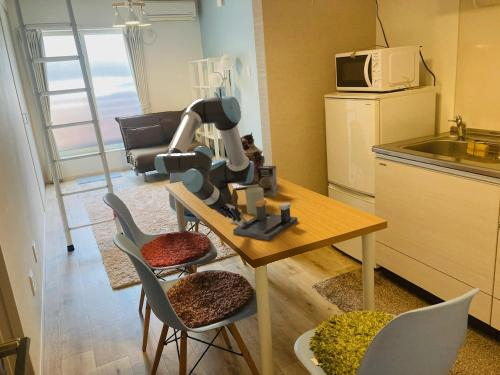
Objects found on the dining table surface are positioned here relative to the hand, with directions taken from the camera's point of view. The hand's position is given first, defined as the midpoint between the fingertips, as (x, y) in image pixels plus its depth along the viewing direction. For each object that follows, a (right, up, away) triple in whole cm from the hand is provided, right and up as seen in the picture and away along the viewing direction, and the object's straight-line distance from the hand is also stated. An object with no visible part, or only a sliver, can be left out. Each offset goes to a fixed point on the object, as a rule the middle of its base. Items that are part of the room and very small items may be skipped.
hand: (241, 222), depth 171 cm
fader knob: (+9, +1, +13) cm, 16 cm away
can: (+7, +3, +29) cm, 30 cm away
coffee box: (+14, +11, +55) cm, 58 cm away
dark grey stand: (+11, -3, +7) cm, 13 cm away
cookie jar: (+5, +18, +82) cm, 84 cm away
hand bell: (-2, -1, +17) cm, 17 cm away
